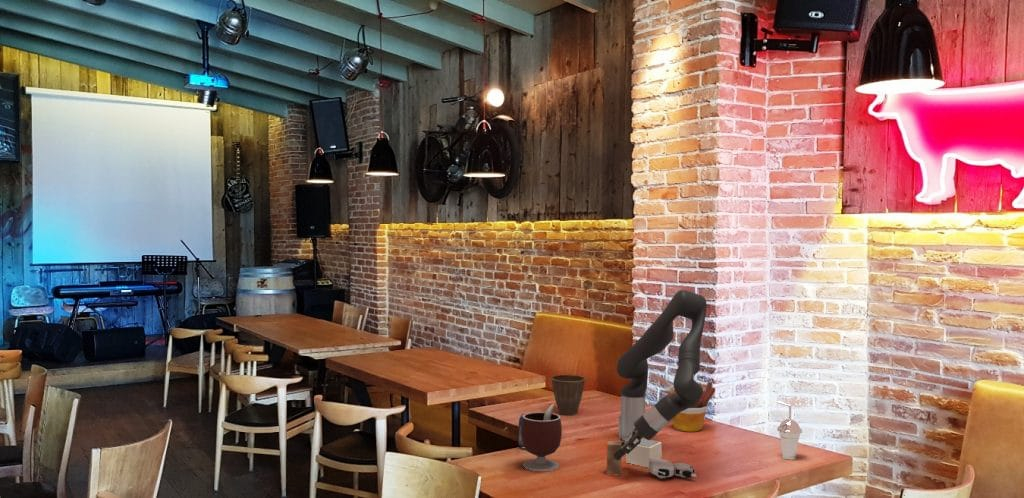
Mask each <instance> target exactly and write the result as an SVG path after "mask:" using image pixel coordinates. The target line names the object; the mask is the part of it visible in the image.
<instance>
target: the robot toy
mask: <svg viewBox="0 0 1024 498" xmlns="http://www.w3.org/2000/svg"><path fill="white" fill-rule="evenodd" d="M648 459H649V460H650V461H649V468H647V469H648V471H649V472H650V473H651V474H652V475H654V476H656V477H657V478H659V479H663V478H664V479H666V478H670V477H671V478H672V477H673V476H674V475H675V477H680V478H683V479H686V478H690V479H691V478H697V476H698V474H696V473H695V469H694V468H693V466H692V465H690V464H687V463H685V462H674V463H672V462H671V461H669V460H667V459H662V458H661V459H651V458H648Z"/></svg>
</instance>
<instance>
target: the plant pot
mask: <svg viewBox="0 0 1024 498" xmlns="http://www.w3.org/2000/svg"><path fill="white" fill-rule="evenodd" d="M585 382H586V378H585V377H584V376H580V375H576V374H575V375H573V374H558V375H554V376H552V377H551V385H552V391H553V395H554V399H555V405H556V407H557V409H558V413H559V414H560V415H562V414H563V415H562V416H574V414H575V415H577V413H578V410H579V407H580V404H581V401H582V397H583V393H584V388H585Z"/></svg>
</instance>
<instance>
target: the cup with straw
mask: <svg viewBox="0 0 1024 498" xmlns="http://www.w3.org/2000/svg"><path fill="white" fill-rule="evenodd" d="M775 403H777V404H780V405H784V406H787V407H788V411H789V412H788V413H789V414H788V418H786V419H784V420H782V421H781V422H780V424H779V426H777V428H776V430H777V432H779V437H780V447H781V454H782V458H783V459H784V460H796V458H797V452H798V445H799V440H800V435H801V434H802V433H803V430H802V428H800V425H799V423H798V422H797V421H795V420H794V419H792V405H791V404H789V403H785V402H784V401H783V402H782V401H779V400H775Z"/></svg>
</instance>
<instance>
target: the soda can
mask: <svg viewBox="0 0 1024 498" xmlns="http://www.w3.org/2000/svg"><path fill="white" fill-rule="evenodd" d="M524 414H525V413H521V414H520V417H519V419H518V446H519V448H520V449H522V447H524V446H523V443H522V438H521V425H522V420H523V415H524Z"/></svg>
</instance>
